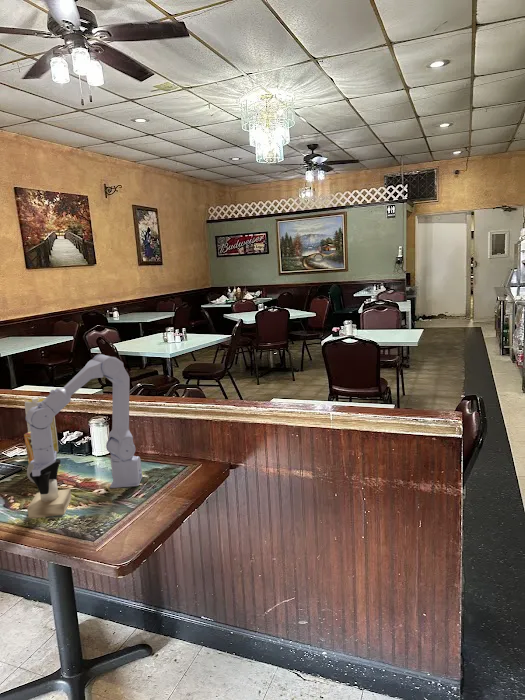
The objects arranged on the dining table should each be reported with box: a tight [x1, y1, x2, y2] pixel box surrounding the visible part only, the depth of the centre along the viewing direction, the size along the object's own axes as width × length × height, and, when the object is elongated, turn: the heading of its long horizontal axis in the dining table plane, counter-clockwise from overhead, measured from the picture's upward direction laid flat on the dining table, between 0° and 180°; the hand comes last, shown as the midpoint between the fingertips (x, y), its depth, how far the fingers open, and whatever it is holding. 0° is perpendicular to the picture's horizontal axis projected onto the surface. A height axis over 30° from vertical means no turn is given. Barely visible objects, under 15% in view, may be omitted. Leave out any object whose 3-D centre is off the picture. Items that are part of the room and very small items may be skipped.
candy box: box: [23, 431, 34, 465], centre depth 175 cm, size 9×4×15 cm, turn 67°
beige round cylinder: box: [40, 479, 59, 502], centre depth 149 cm, size 5×5×5 cm
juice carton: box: [24, 396, 59, 454], centre depth 193 cm, size 9×8×24 cm
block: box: [27, 488, 72, 520], centre depth 150 cm, size 10×10×4 cm
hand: (48, 488), depth 149 cm, fingers open, 6 cm apart
